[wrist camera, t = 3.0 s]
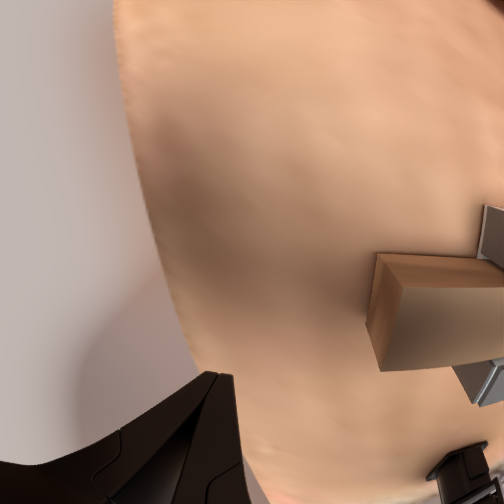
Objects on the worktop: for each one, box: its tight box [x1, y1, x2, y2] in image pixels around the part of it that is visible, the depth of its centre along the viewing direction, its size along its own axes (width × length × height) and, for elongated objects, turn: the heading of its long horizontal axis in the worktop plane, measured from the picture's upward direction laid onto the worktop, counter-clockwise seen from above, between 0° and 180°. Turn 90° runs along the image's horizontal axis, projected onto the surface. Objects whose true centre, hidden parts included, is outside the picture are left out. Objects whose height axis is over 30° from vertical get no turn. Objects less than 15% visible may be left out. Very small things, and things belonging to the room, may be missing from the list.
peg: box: [366, 253, 504, 372], centre depth 11 cm, size 4×10×4 cm, turn 90°
